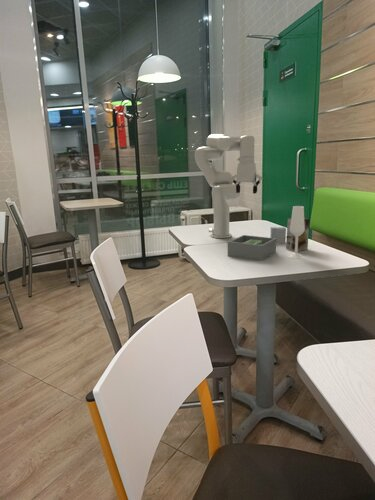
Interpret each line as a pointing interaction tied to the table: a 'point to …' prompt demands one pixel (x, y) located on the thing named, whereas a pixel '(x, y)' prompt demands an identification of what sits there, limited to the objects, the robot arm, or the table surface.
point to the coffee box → (301, 239)
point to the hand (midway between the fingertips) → (246, 193)
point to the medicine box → (278, 234)
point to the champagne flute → (297, 227)
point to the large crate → (252, 247)
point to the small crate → (254, 242)
